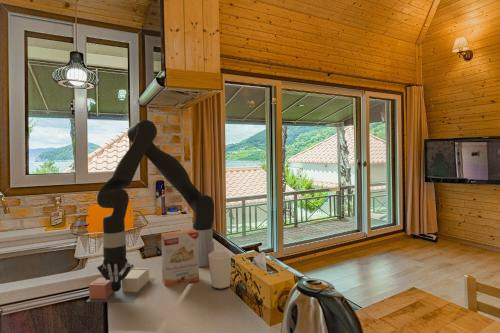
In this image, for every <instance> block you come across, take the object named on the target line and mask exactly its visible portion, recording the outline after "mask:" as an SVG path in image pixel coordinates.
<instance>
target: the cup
mask: <svg viewBox="0 0 500 333" xmlns="http://www.w3.org/2000/svg"><path fill="white" fill-rule="evenodd" d="M232 257H233V258H234V253H233V252H232V251H230V250H214V252H211V253H209V254H208V258H209V266H208V267H209V273H210V280H211V282H210V283H211V287H212V288H213V289H218V290H219V291H221V290H223V289H228V288H230V286H231V285H230V273H231V258H232Z"/></svg>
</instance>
